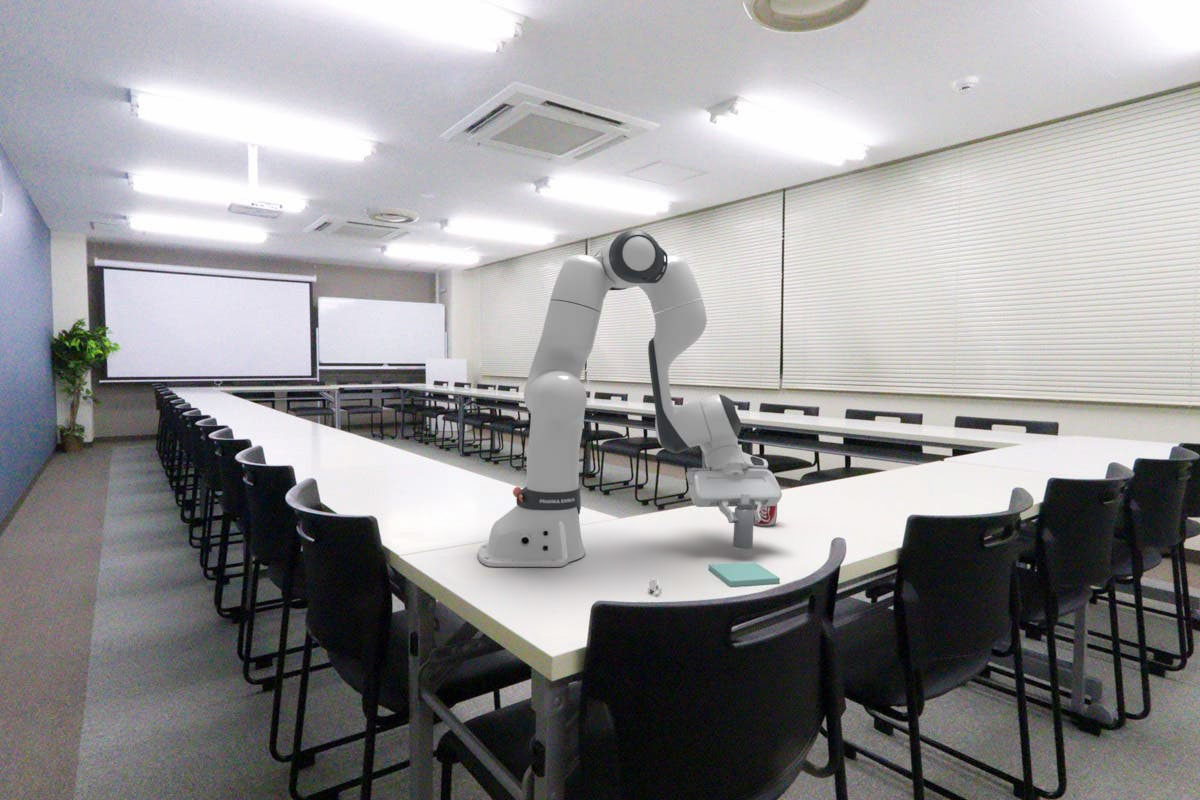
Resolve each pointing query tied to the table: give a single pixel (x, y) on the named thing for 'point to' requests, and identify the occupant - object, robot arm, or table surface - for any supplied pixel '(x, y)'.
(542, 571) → the table surface
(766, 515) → the soda can
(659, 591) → the power adapter
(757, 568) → the pad
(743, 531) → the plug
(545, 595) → the table surface
